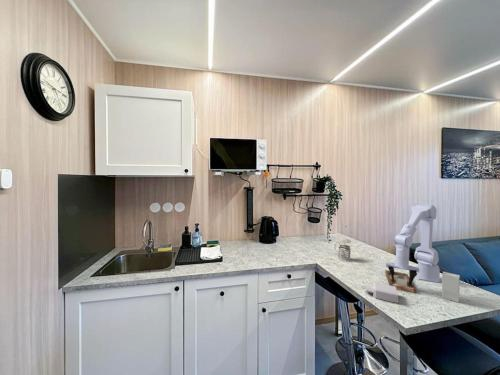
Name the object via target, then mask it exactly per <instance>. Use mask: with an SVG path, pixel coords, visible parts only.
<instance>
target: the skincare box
mask: <svg viewBox="0 0 500 375" xmlns="http://www.w3.org/2000/svg"><path fill="white" fill-rule="evenodd" d="M441 275H442V276H441V297H442V299H445V300H448V301H451V300H452V301H451V302H456V303H458V302H459V303H460V289H461V288H460V285H461V284H460V279H461V278H460V277H461V276H460V274H456V273H452V272H451V273H450V272H447V271H443V272H442V273H441Z"/></svg>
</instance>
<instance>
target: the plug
mask: <svg viewBox="0 0 500 375" xmlns="http://www.w3.org/2000/svg"><path fill="white" fill-rule="evenodd" d="M395 277H396V283H395V285H400V286H405V287H408V286H407V279H406V278H405V277H404V276H402V275H399V276H398V275H396V276H395Z"/></svg>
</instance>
